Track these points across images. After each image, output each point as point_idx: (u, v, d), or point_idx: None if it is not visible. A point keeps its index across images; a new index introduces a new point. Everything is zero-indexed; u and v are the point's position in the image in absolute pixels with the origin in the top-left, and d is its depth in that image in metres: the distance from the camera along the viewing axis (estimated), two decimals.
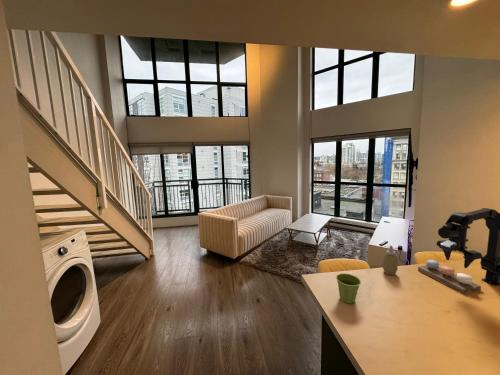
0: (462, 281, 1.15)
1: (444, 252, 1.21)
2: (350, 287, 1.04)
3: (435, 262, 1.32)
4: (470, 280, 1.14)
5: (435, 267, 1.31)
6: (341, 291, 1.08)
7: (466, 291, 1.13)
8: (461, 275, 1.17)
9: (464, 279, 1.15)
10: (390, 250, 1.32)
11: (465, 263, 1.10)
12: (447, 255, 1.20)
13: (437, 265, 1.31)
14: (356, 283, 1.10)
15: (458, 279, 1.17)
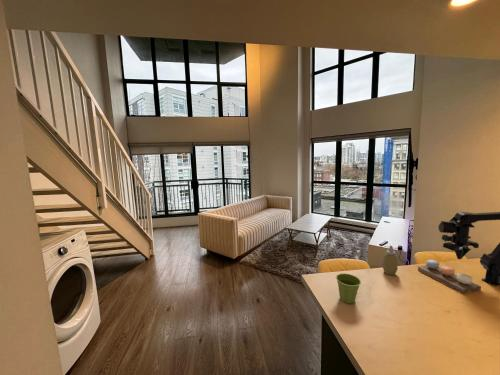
0: (462, 281, 1.15)
1: None
2: (350, 287, 1.04)
3: (435, 262, 1.32)
4: (470, 280, 1.14)
5: (435, 267, 1.31)
6: (341, 291, 1.08)
7: (466, 291, 1.13)
8: (461, 275, 1.17)
9: (464, 279, 1.15)
10: (390, 250, 1.32)
11: None
12: None
13: (437, 265, 1.31)
14: (356, 283, 1.10)
15: (458, 279, 1.17)
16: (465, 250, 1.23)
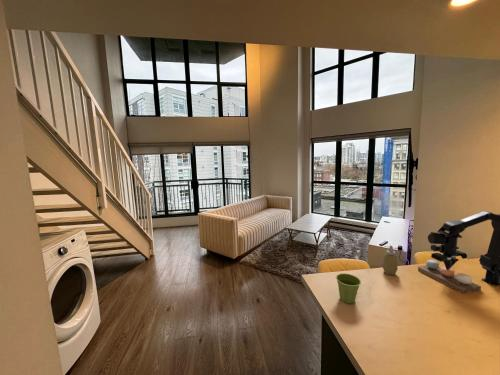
0: (462, 281, 1.15)
1: None
2: (350, 287, 1.04)
3: (435, 262, 1.32)
4: (470, 280, 1.14)
5: (435, 267, 1.31)
6: (341, 291, 1.08)
7: (466, 291, 1.13)
8: (461, 275, 1.17)
9: (464, 279, 1.15)
10: (390, 250, 1.32)
11: None
12: None
13: (437, 265, 1.31)
14: (356, 283, 1.10)
15: (458, 279, 1.17)
16: (453, 261, 1.22)
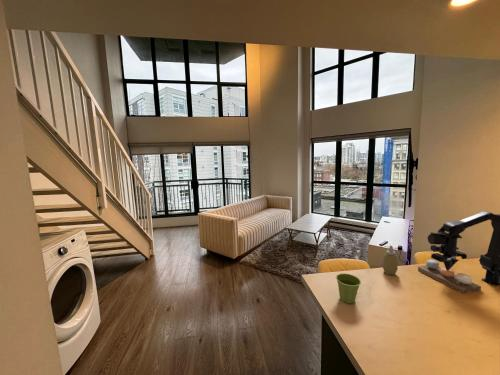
0: (462, 281, 1.15)
1: None
2: (350, 287, 1.04)
3: (435, 262, 1.32)
4: (470, 280, 1.14)
5: (435, 267, 1.31)
6: (341, 291, 1.08)
7: (466, 291, 1.13)
8: (461, 275, 1.17)
9: (464, 279, 1.15)
10: (390, 250, 1.32)
11: None
12: None
13: (437, 265, 1.31)
14: (356, 283, 1.10)
15: (458, 279, 1.17)
16: (453, 261, 1.23)
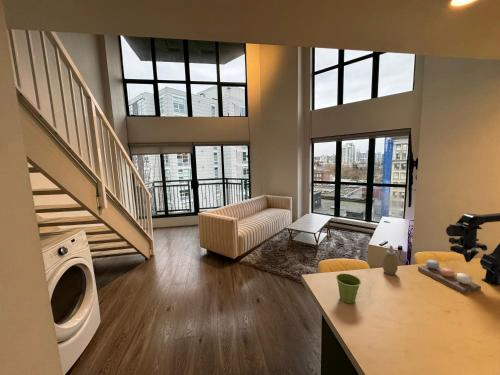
0: (462, 281, 1.15)
1: None
2: (350, 287, 1.04)
3: (435, 262, 1.32)
4: (470, 280, 1.14)
5: (435, 267, 1.31)
6: (341, 291, 1.08)
7: (466, 291, 1.13)
8: (461, 275, 1.17)
9: (464, 279, 1.15)
10: (390, 250, 1.32)
11: None
12: None
13: (437, 265, 1.31)
14: (356, 283, 1.10)
15: (458, 279, 1.17)
16: (473, 253, 1.20)
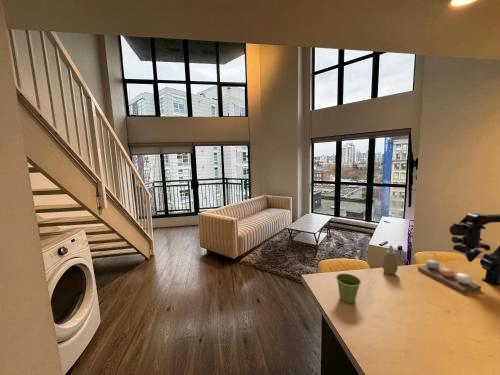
0: (462, 281, 1.15)
1: None
2: (350, 287, 1.04)
3: (435, 262, 1.32)
4: (470, 280, 1.14)
5: (435, 267, 1.31)
6: (341, 291, 1.08)
7: (466, 291, 1.13)
8: (461, 275, 1.17)
9: (464, 279, 1.15)
10: (390, 250, 1.32)
11: None
12: None
13: (437, 265, 1.31)
14: (356, 283, 1.10)
15: (458, 279, 1.17)
16: (476, 253, 1.20)
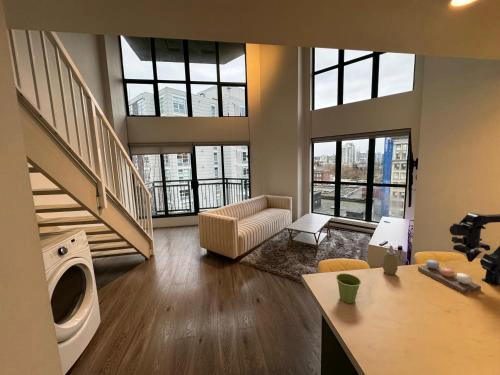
0: (462, 281, 1.15)
1: None
2: (350, 287, 1.04)
3: (435, 262, 1.32)
4: (470, 280, 1.14)
5: (435, 267, 1.31)
6: (341, 291, 1.08)
7: (466, 291, 1.13)
8: (461, 275, 1.17)
9: (464, 279, 1.15)
10: (390, 250, 1.32)
11: None
12: None
13: (437, 265, 1.31)
14: (356, 283, 1.10)
15: (458, 279, 1.17)
16: (476, 253, 1.20)
